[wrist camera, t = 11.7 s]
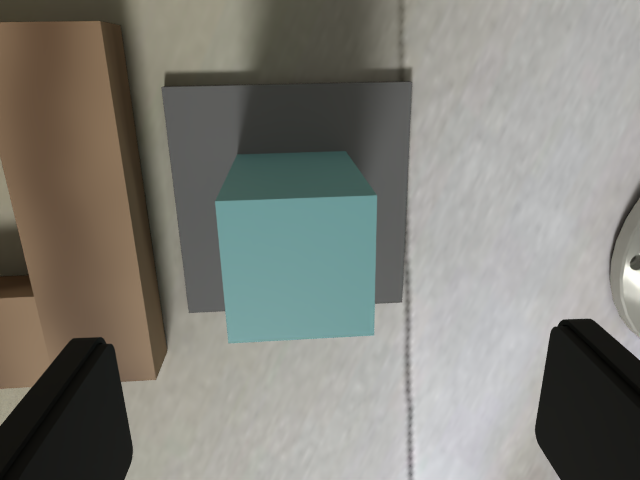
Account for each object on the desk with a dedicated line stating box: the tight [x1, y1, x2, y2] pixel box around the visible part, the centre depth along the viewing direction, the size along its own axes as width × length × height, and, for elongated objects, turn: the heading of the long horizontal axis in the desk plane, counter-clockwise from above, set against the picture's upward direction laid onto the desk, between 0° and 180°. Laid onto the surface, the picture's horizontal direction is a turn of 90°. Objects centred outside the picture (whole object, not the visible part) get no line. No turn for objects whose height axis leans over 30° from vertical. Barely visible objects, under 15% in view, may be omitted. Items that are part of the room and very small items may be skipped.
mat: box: [162, 81, 412, 313], centre depth 24 cm, size 11×11×1 cm
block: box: [215, 151, 377, 343], centre depth 20 cm, size 5×5×8 cm
